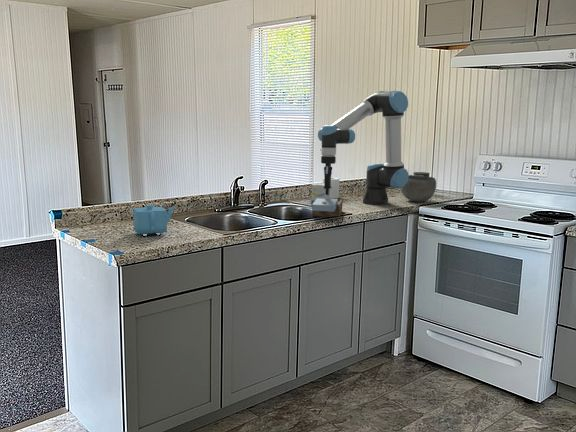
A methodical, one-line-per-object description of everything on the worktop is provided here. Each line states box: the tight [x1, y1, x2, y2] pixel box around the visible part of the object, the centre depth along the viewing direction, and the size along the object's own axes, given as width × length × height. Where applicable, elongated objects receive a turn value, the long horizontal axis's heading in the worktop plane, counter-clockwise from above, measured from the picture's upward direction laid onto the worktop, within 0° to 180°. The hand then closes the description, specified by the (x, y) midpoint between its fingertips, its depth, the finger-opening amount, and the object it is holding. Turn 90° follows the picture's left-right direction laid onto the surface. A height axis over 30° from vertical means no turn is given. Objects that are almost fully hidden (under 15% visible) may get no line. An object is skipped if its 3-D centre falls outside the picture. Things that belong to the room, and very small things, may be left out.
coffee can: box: [412, 171, 430, 177], centre depth 370 cm, size 10×10×14 cm
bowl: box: [400, 174, 437, 203], centre depth 341 cm, size 20×20×15 cm
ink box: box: [310, 182, 325, 206], centre depth 327 cm, size 9×8×12 cm
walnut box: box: [311, 199, 343, 218], centre depth 298 cm, size 14×18×6 cm
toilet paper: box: [322, 176, 341, 199], centre depth 351 cm, size 10×10×12 cm
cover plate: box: [311, 198, 339, 212], centre depth 287 cm, size 11×16×4 cm
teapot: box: [132, 204, 178, 235], centre depth 244 cm, size 18×16×13 cm
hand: (327, 200), depth 295 cm, fingers closed
